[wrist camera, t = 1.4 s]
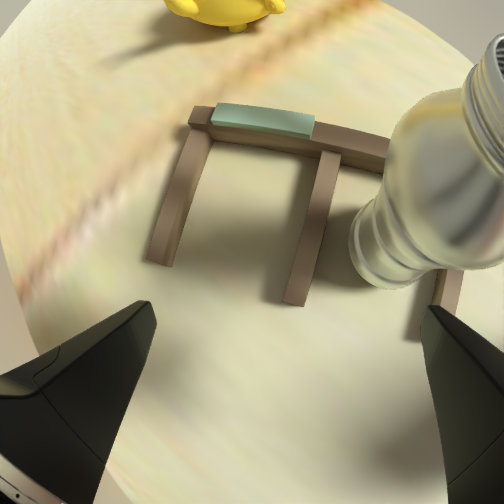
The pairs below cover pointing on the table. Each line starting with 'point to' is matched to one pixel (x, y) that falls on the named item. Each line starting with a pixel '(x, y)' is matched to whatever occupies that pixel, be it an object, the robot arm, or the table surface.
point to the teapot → (226, 11)
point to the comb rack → (287, 140)
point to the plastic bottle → (439, 185)
